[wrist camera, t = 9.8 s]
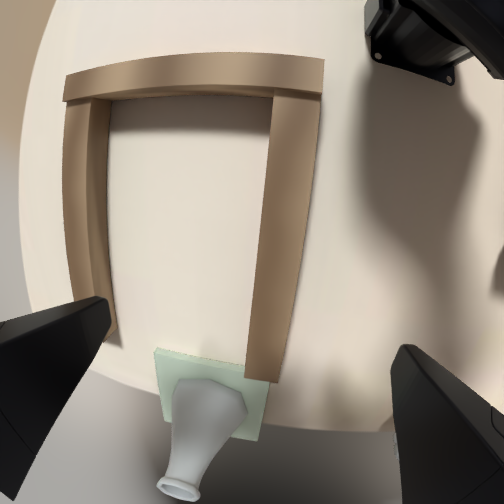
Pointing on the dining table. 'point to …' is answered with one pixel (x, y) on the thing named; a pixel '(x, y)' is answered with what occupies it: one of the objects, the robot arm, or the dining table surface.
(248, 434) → the pad
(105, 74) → the frame
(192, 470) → the flask
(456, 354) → the dining table surface
